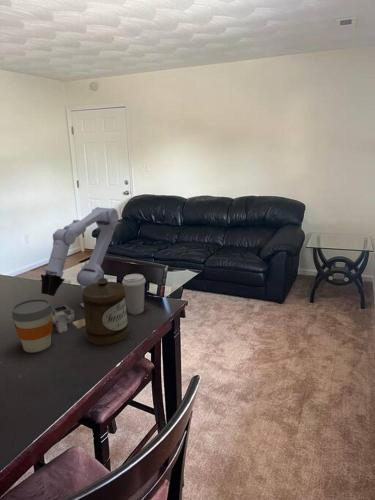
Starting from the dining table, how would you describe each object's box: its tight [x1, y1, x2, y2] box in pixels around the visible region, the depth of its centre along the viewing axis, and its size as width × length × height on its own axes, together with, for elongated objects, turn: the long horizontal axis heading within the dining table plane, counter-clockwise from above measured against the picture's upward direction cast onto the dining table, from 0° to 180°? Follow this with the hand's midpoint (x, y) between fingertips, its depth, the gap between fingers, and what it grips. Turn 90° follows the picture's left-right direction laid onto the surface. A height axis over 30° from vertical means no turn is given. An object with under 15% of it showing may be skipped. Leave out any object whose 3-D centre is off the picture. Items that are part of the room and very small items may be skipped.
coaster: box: [71, 317, 86, 330], centre depth 143 cm, size 6×6×1 cm
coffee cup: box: [121, 273, 147, 315], centre depth 151 cm, size 10×10×15 cm
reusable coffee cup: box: [11, 298, 53, 353], centre depth 126 cm, size 13×13×15 cm
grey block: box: [53, 311, 68, 334], centre depth 138 cm, size 5×3×7 cm, turn 127°
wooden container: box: [82, 277, 129, 346], centre depth 132 cm, size 15×15×22 cm
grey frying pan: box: [51, 308, 76, 327], centre depth 145 cm, size 18×10×2 cm, turn 127°
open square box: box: [51, 304, 71, 316], centre depth 145 cm, size 6×8×2 cm
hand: (47, 294), depth 137 cm, fingers open, 7 cm apart
